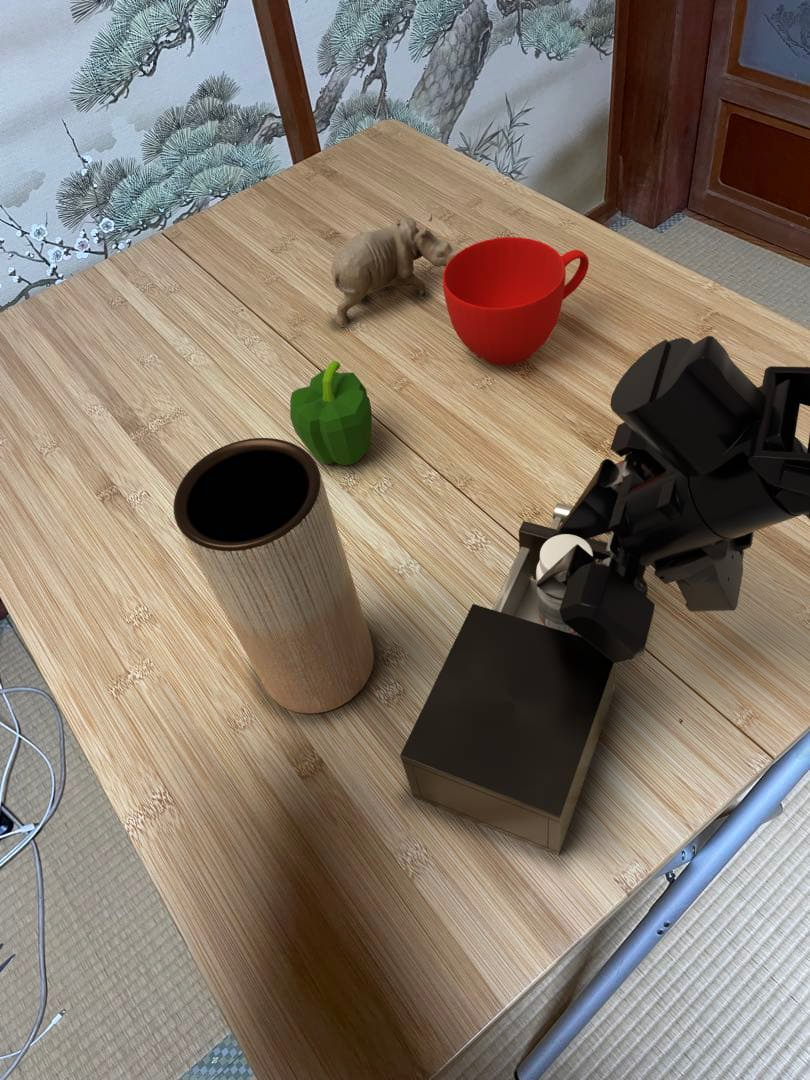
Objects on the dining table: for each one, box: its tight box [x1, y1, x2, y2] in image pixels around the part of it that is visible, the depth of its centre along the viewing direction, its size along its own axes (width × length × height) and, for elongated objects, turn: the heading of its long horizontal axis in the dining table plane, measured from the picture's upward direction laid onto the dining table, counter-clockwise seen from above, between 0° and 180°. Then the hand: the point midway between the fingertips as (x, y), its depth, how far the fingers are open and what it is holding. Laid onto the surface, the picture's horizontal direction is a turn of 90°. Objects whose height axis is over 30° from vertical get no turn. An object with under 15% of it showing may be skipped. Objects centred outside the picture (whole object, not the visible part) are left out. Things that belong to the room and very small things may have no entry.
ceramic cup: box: [442, 236, 590, 367], centre depth 92 cm, size 13×17×10 cm
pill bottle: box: [535, 534, 593, 635], centre depth 67 cm, size 5×5×8 cm
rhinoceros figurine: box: [330, 214, 461, 328], centre depth 101 cm, size 8×14×15 cm
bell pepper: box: [289, 360, 373, 466], centre depth 85 cm, size 8×8×10 cm
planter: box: [172, 437, 375, 714], centre depth 64 cm, size 10×10×23 cm
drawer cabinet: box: [399, 603, 618, 856], centre depth 63 cm, size 14×12×8 cm
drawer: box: [492, 502, 611, 637], centre depth 69 cm, size 17×10×6 cm, turn 155°
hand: (549, 563), depth 65 cm, fingers closed on pill bottle, 4 cm apart
